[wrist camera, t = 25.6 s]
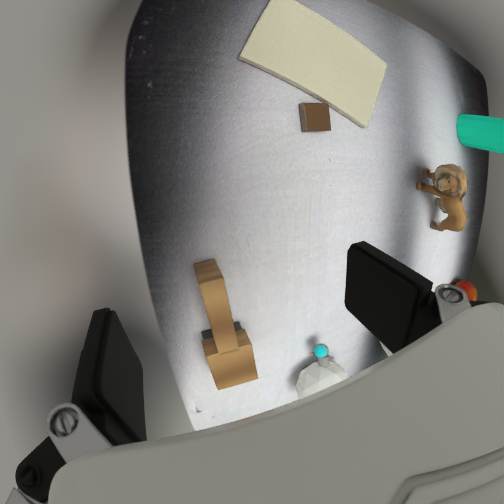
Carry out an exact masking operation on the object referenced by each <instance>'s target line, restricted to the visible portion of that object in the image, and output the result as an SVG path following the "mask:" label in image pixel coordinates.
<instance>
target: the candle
mask: <svg viewBox="0 0 504 504" xmlns="http://www.w3.org/2000/svg"><path fill="white" fill-rule="evenodd" d="M457 133H458V137H459V140H460V142H461V143H462V144H463V145H464V146H468V147H473V148H479V149H484V150H488V151H493V152H498V153H502V154H504V119H502V118H495V117H488V116H479V115H469V114H460V115H459V117H458V119H457Z"/></svg>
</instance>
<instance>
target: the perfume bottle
mask: <svg viewBox="0 0 504 504" xmlns="http://www.w3.org/2000/svg"><path fill="white" fill-rule="evenodd" d="M328 351H329V350H328V347H327V346H326V345H325V344H318V345H316V346H315V349H314V353H312V354H308V355H313V354H314V355H316V356H317V359H318V362H314V363H312V364H311V365H309V366H308V367H306V368H305V369H303V370H302V371H301V373H300V376H299V379H298V381H297V384H296V387H297V395H298V398H299V399H302V398H304V397H307V396H309V395H311V394H314V393H316V392H319V391H321V390H323V389H325V388H328V387H330V386H332V385H334V384H337V383H339V382H341V381H343V380H345V379H347V375H346V371H345V370H344V369H343V368H342V367H341V366H340V365H339V364H337V363H334V362H330V361H329V359H328V358H333V357H330V356H328V355H327V354H328Z"/></svg>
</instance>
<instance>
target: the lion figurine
mask: <svg viewBox="0 0 504 504" xmlns="http://www.w3.org/2000/svg"><path fill="white" fill-rule="evenodd" d="M424 174H425V176H426V177H428V178H431V179H432V182H433V184H434V186H429V185H426V184H424V183H422V182H418V183H417V189H418V190H422V191H427V192H430V193H432V194H433V195H436V196H439V197H440V198H437V199H436V205H437V206H438V207H439V208H440V209H441V210H442V212H443V213H447V214H448V217H447V218H446V219H444V220H443V221H442V222H441V223H440V225H439V226H438V225H437V224H436V222H435V221H432V223H431V228H433V229H435V230H438V231H443V230H445V229H448V230H451V231H461V230H463V229H464V227H465V224H466V218H467V216H466V212H465V210H464V207H463V203H462V198H463V197H464V196H465V194H466V190H467V188H468V180H467V176H466V173H465V172H464V171H463V170H462V169H461V167H460V166H456V165H452V164H448V165H441V166H439V167H437V169H436V171H435V172H434V173H430V170H429V169H427V168H426V169H425V170H424ZM441 203H442V204H441Z"/></svg>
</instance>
